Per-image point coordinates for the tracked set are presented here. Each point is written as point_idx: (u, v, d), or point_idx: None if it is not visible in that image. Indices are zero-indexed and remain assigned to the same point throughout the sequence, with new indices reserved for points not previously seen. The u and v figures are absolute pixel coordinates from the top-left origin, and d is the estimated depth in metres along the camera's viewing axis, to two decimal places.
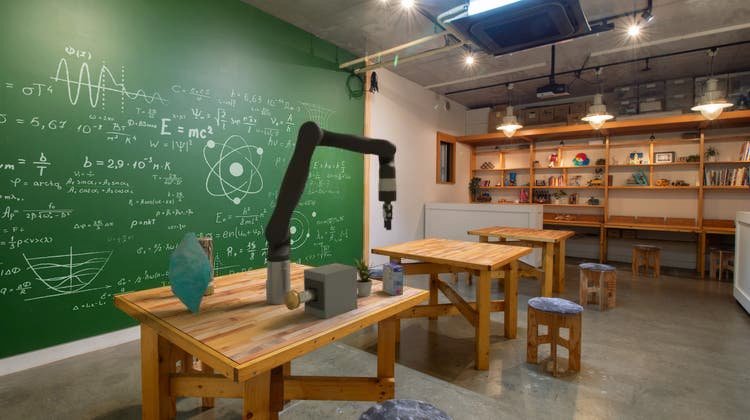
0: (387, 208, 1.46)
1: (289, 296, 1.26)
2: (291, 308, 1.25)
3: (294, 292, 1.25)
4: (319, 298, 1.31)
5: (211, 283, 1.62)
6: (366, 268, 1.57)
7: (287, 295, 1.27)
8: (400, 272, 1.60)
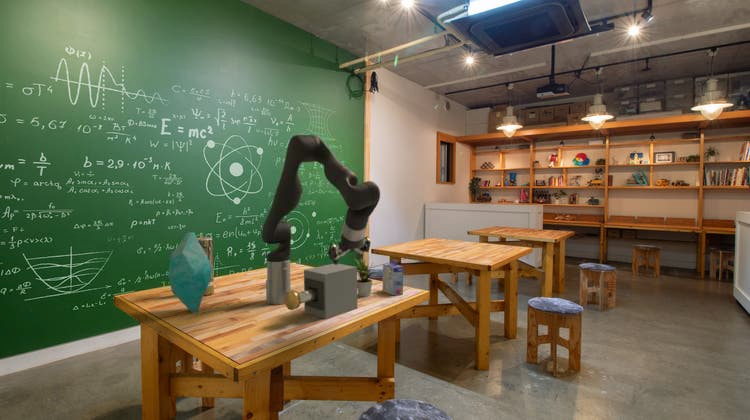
0: (330, 247, 1.22)
1: (289, 296, 1.26)
2: (291, 308, 1.25)
3: (294, 292, 1.25)
4: (319, 298, 1.31)
5: (211, 283, 1.62)
6: (366, 268, 1.57)
7: (287, 295, 1.27)
8: (400, 272, 1.60)
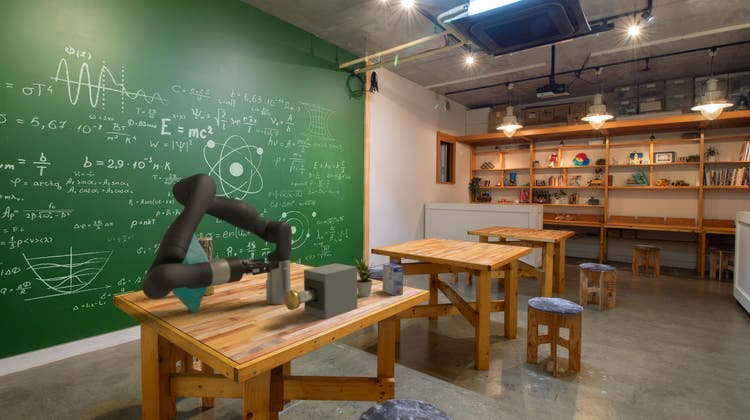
0: None
1: (289, 296, 1.26)
2: (291, 308, 1.25)
3: (294, 292, 1.25)
4: (319, 298, 1.31)
5: None
6: (366, 268, 1.57)
7: (287, 295, 1.27)
8: (400, 272, 1.60)
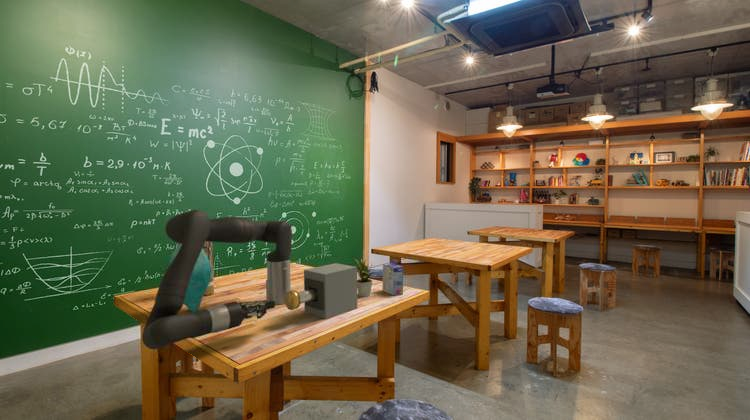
0: None
1: (289, 296, 1.26)
2: (291, 308, 1.25)
3: (294, 292, 1.25)
4: (319, 298, 1.31)
5: (211, 283, 1.62)
6: (366, 268, 1.57)
7: (287, 295, 1.27)
8: (400, 272, 1.60)
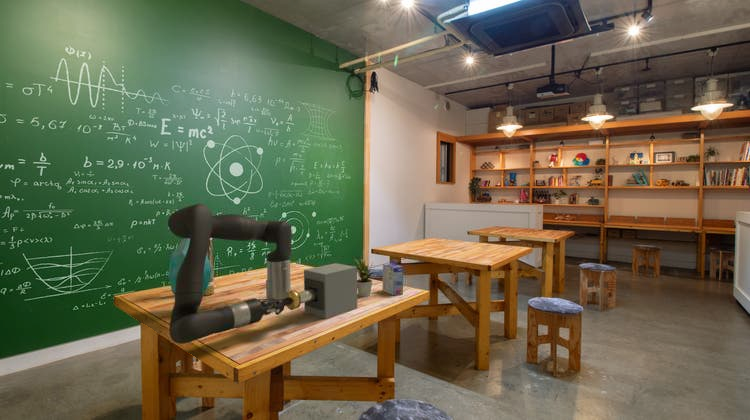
0: None
1: (289, 296, 1.26)
2: (291, 308, 1.25)
3: (294, 292, 1.26)
4: (319, 298, 1.31)
5: (211, 283, 1.62)
6: (366, 268, 1.57)
7: (287, 295, 1.27)
8: (400, 272, 1.60)
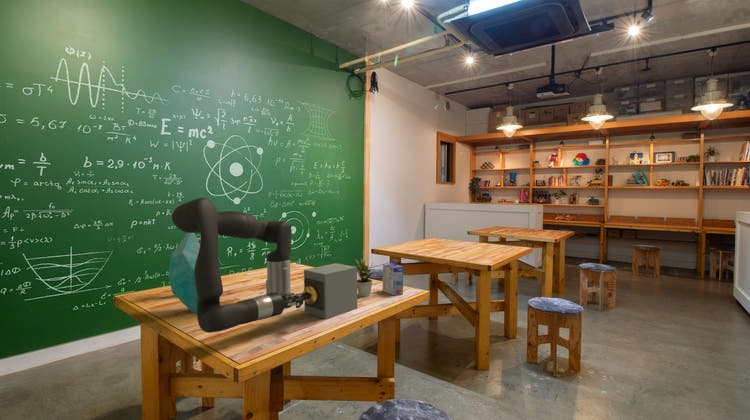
0: None
1: (308, 291, 1.32)
2: (310, 302, 1.31)
3: (313, 287, 1.31)
4: (319, 298, 1.31)
5: None
6: (366, 268, 1.57)
7: (306, 290, 1.33)
8: (400, 272, 1.60)
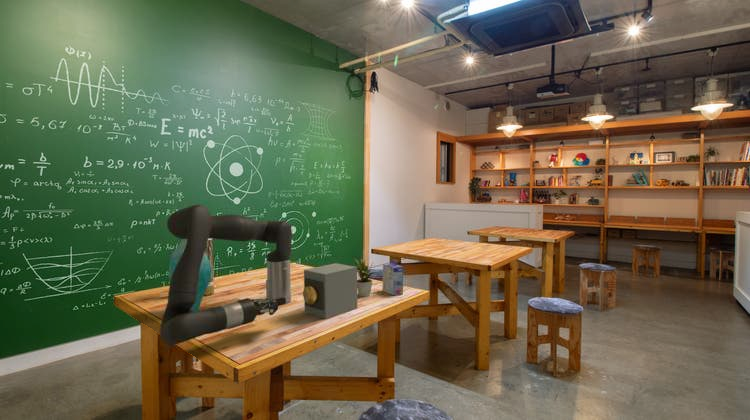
0: None
1: (308, 291, 1.32)
2: (310, 302, 1.31)
3: (313, 287, 1.31)
4: (319, 298, 1.31)
5: (211, 283, 1.62)
6: (366, 268, 1.57)
7: (305, 290, 1.33)
8: (400, 272, 1.60)
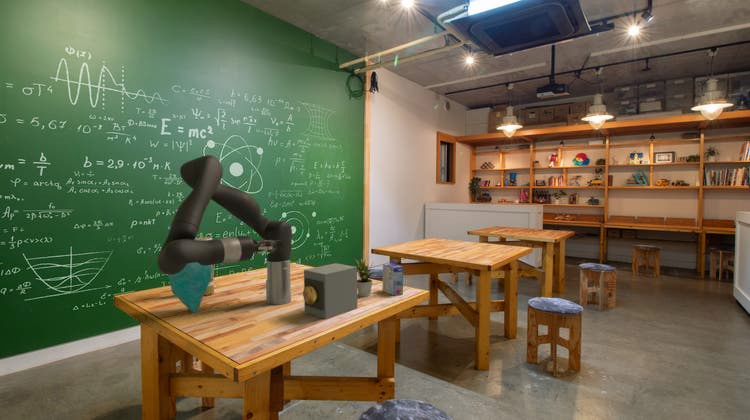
0: None
1: (308, 291, 1.32)
2: (310, 302, 1.31)
3: (313, 287, 1.31)
4: (319, 298, 1.31)
5: (211, 283, 1.62)
6: (366, 268, 1.57)
7: (305, 290, 1.33)
8: (400, 272, 1.60)
